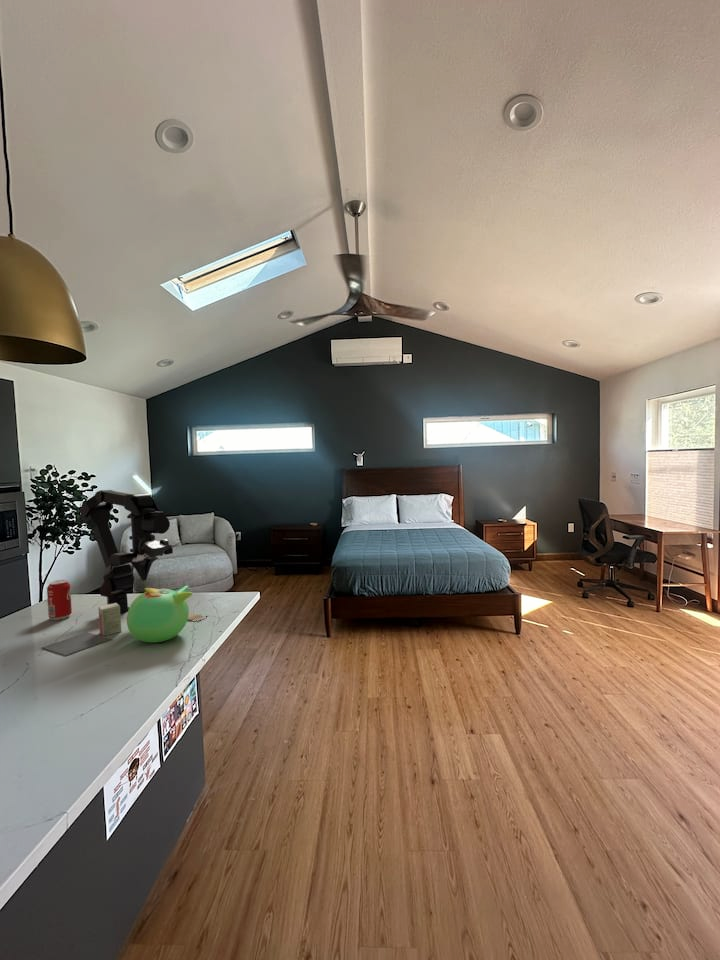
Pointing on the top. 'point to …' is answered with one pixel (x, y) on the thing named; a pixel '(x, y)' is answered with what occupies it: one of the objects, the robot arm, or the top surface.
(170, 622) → the toy bird
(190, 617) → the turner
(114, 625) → the small box
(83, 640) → the mat
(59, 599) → the beverage can
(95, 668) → the top surface
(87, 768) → the top surface
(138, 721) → the top surface
